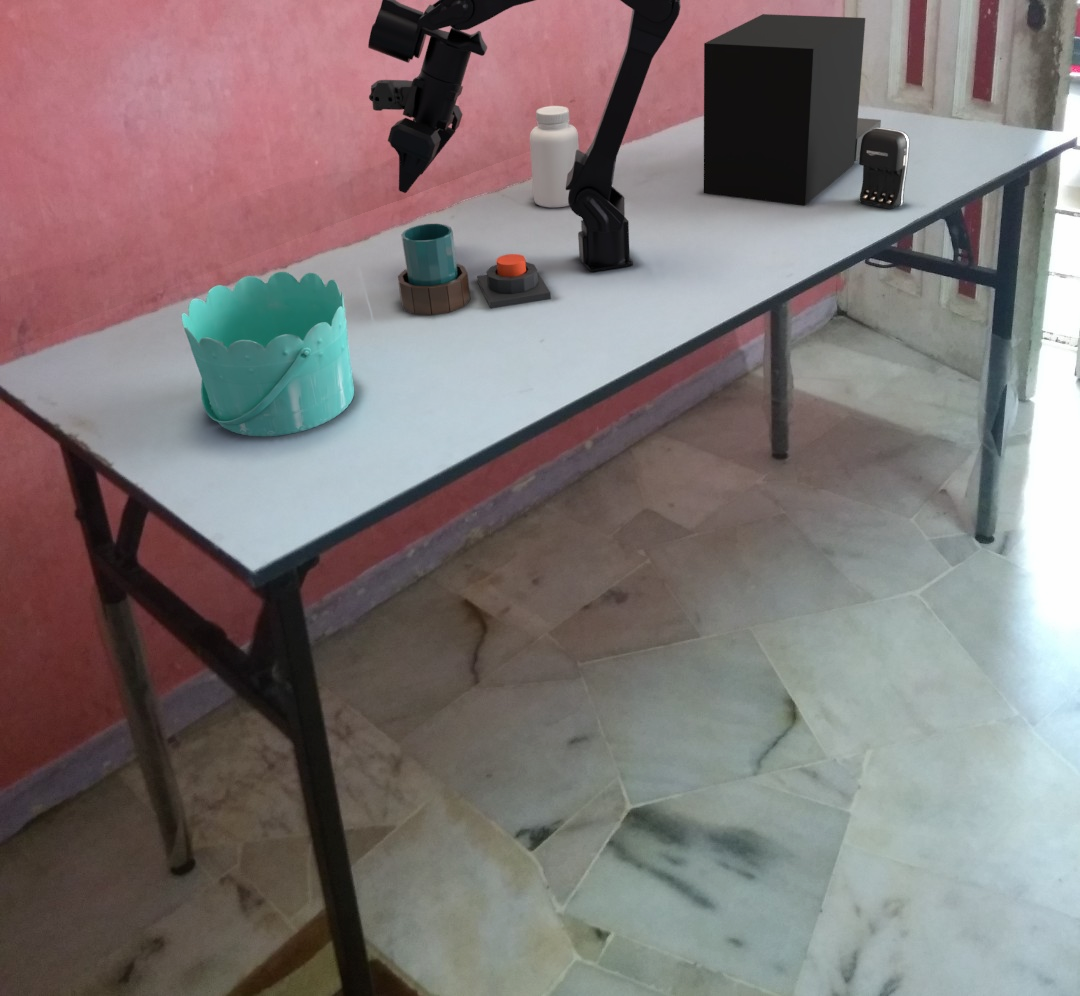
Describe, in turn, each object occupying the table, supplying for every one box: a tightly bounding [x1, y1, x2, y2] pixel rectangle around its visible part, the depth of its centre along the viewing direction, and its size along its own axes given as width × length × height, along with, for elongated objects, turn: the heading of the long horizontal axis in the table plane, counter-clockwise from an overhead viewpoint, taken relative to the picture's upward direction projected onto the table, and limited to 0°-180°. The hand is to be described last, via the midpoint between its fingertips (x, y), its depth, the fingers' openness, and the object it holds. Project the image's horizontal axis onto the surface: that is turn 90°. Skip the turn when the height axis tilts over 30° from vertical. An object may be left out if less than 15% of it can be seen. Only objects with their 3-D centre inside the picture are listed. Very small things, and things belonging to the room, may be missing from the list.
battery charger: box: [858, 127, 911, 209], centre depth 176 cm, size 7×4×11 cm, turn 45°
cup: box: [400, 223, 458, 286], centre depth 157 cm, size 7×7×10 cm
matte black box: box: [703, 13, 882, 207], centre depth 191 cm, size 18×35×24 cm, turn 148°
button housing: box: [476, 261, 552, 309], centre depth 160 cm, size 10×8×3 cm
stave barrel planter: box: [397, 263, 471, 316], centre depth 158 cm, size 9×9×4 cm
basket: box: [181, 271, 355, 438], centre depth 133 cm, size 19×18×13 cm
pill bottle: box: [529, 105, 580, 208], centre depth 188 cm, size 8×8×15 cm
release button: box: [495, 253, 526, 277], centre depth 159 cm, size 4×4×2 cm
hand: (410, 182), depth 162 cm, fingers open, 9 cm apart
